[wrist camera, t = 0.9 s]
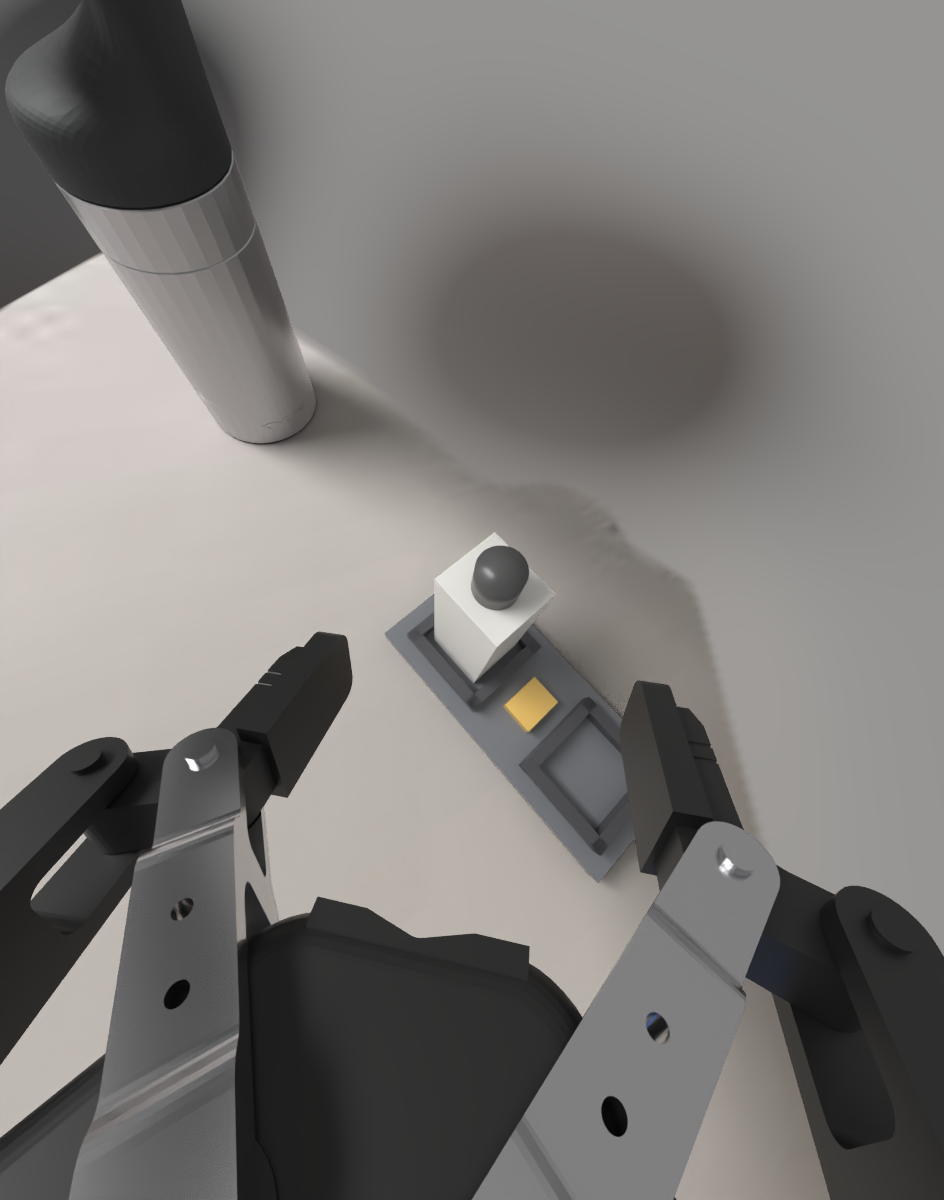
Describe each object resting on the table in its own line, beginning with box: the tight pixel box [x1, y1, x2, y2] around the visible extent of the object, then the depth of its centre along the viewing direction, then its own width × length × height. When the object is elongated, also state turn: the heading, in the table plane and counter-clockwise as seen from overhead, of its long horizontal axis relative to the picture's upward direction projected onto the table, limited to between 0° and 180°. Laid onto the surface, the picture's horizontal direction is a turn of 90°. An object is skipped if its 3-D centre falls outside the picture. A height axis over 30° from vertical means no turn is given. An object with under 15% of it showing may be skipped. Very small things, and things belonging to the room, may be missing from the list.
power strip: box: [385, 594, 635, 883], centre depth 30 cm, size 22×9×3 cm, turn 42°
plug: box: [434, 532, 556, 684], centre depth 25 cm, size 4×4×14 cm
